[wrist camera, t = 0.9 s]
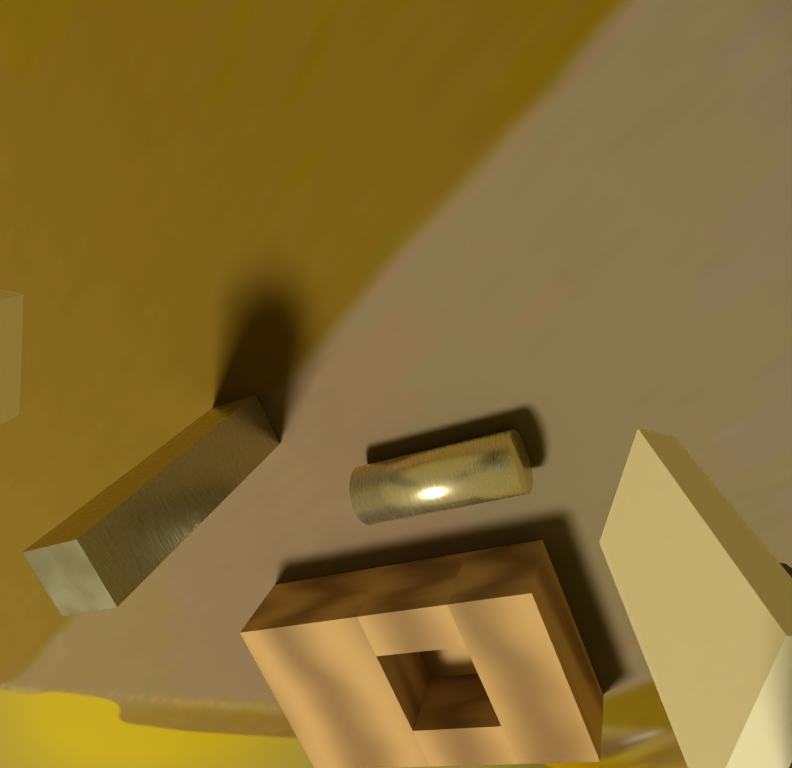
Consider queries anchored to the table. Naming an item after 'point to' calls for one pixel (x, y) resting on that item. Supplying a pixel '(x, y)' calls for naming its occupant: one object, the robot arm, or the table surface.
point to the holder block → (432, 663)
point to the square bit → (150, 509)
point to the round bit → (442, 478)
